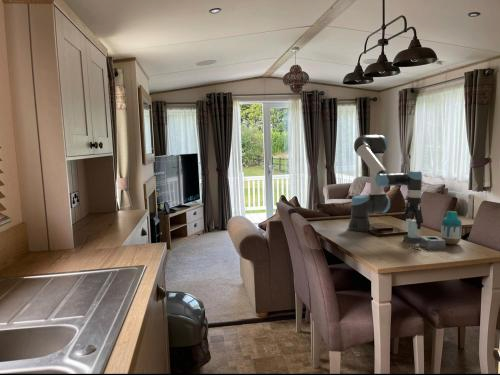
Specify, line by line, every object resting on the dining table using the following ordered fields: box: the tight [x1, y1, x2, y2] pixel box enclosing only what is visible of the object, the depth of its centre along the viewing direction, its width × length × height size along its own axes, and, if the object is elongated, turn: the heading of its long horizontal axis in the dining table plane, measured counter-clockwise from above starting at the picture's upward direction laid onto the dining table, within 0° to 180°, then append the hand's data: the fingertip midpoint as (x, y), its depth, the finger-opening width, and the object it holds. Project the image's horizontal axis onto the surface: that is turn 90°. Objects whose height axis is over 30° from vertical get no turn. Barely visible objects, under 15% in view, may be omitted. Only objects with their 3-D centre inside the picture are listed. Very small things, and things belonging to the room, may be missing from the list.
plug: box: [407, 219, 418, 238], centre depth 235 cm, size 4×4×13 cm
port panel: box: [418, 235, 446, 250], centre depth 222 cm, size 10×10×6 cm
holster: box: [403, 234, 420, 244], centre depth 236 cm, size 8×8×2 cm
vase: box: [440, 210, 463, 245], centre depth 227 cm, size 11×11×19 cm
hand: (412, 231), depth 235 cm, fingers open, 13 cm apart
